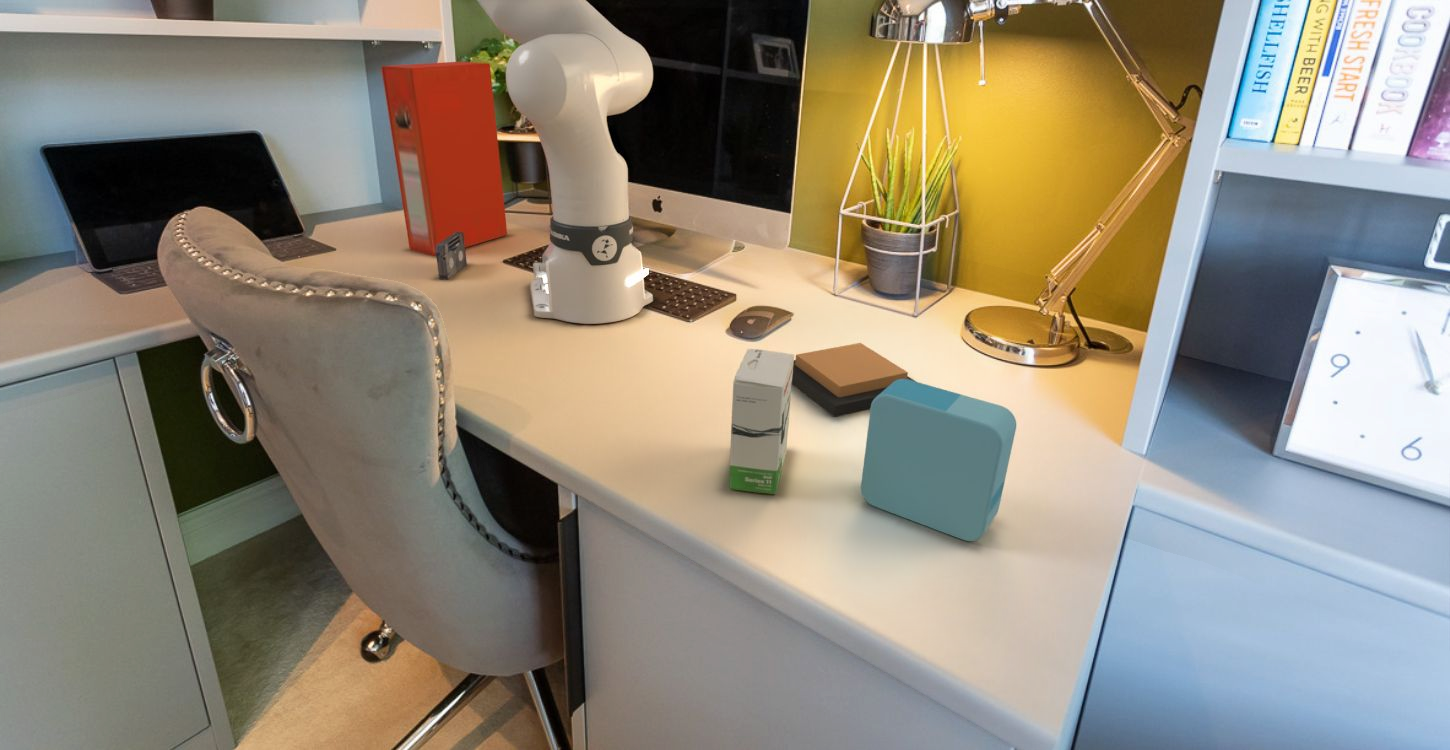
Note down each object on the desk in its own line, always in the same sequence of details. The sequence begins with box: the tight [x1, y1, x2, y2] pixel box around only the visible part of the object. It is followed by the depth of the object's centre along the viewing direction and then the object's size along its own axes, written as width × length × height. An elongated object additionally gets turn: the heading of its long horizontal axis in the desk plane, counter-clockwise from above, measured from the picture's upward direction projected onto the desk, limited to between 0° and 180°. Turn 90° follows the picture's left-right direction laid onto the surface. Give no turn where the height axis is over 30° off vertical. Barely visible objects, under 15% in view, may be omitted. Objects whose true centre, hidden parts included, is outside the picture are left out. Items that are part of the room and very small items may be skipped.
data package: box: [860, 379, 1017, 542], centre depth 72 cm, size 12×4×12 cm, turn 56°
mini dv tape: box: [435, 232, 468, 280], centre depth 133 cm, size 8×2×6 cm, turn 175°
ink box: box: [728, 348, 795, 495], centre depth 78 cm, size 9×5×12 cm, turn 168°
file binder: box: [380, 61, 508, 257], centre depth 144 cm, size 8×17×32 cm, turn 150°
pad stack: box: [792, 342, 917, 418], centre depth 98 cm, size 13×13×3 cm
